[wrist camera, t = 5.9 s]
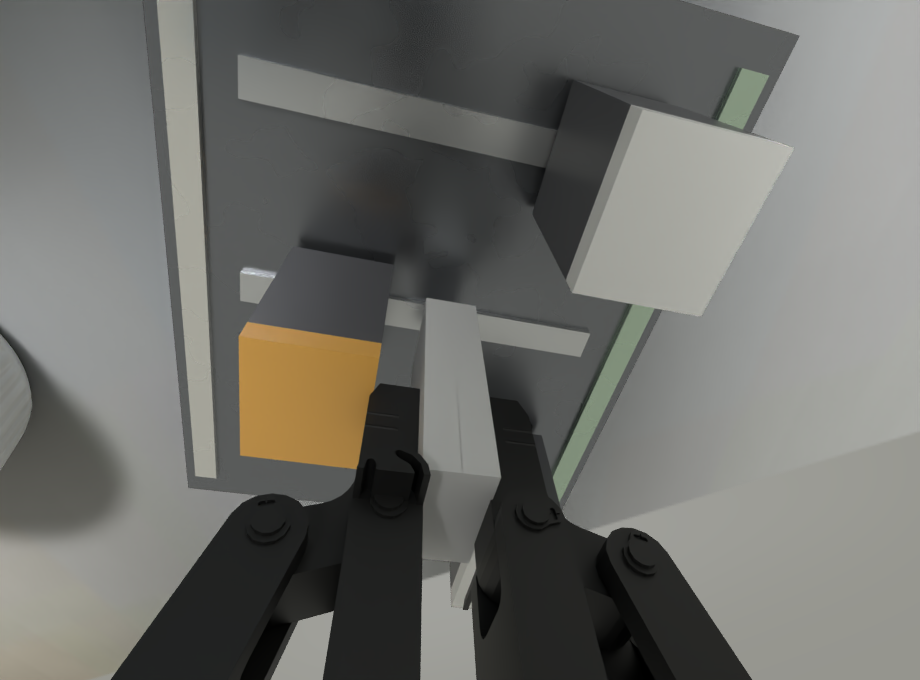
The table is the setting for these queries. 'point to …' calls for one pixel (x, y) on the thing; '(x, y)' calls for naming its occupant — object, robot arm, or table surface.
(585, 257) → the block
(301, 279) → the block
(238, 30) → the panel
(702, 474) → the table surface
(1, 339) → the ramekin
